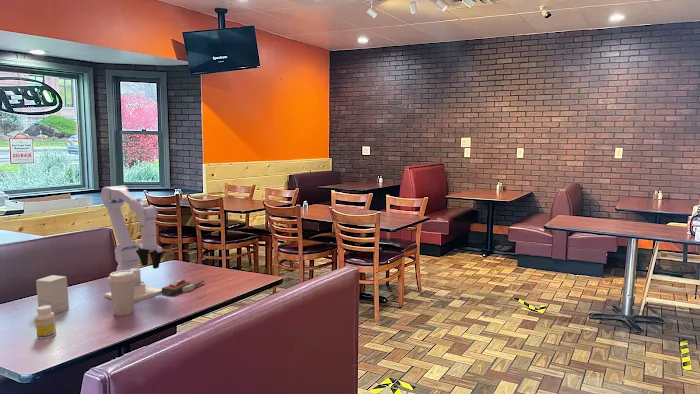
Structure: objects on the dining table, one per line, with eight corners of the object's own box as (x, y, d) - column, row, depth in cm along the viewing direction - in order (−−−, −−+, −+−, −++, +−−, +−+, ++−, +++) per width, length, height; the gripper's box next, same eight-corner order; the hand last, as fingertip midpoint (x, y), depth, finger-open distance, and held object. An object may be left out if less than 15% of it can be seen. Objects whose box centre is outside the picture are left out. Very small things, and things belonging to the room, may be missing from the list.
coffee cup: (110, 318, 183) (107, 278, 181) (109, 310, 191) (106, 271, 189) (139, 314, 187) (136, 274, 185) (136, 306, 196) (134, 268, 194)
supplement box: (69, 308, 194) (67, 276, 192) (52, 315, 187) (50, 281, 185) (55, 306, 196) (52, 274, 195) (37, 313, 189) (35, 279, 188)
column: (126, 286, 209) (125, 270, 208) (135, 283, 213) (134, 268, 212) (132, 287, 207) (131, 271, 206) (140, 285, 210) (140, 269, 210)
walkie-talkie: (176, 298, 207) (206, 284, 226) (175, 287, 207) (205, 274, 225) (158, 295, 210) (189, 282, 229) (158, 285, 210) (189, 273, 228)
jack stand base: (104, 296, 208) (103, 286, 208) (139, 286, 221) (139, 276, 221) (128, 303, 199) (127, 292, 199) (163, 293, 213) (162, 282, 212)
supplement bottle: (42, 333, 170) (39, 304, 169) (59, 332, 170) (57, 304, 169) (33, 339, 164) (31, 310, 163) (51, 339, 165) (48, 309, 164)
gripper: (129, 234, 215) (131, 266, 217) (151, 238, 207) (152, 271, 209) (144, 232, 221) (146, 262, 223) (165, 235, 213) (167, 267, 215)
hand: (150, 266), depth 216 cm, fingers open, 7 cm apart
